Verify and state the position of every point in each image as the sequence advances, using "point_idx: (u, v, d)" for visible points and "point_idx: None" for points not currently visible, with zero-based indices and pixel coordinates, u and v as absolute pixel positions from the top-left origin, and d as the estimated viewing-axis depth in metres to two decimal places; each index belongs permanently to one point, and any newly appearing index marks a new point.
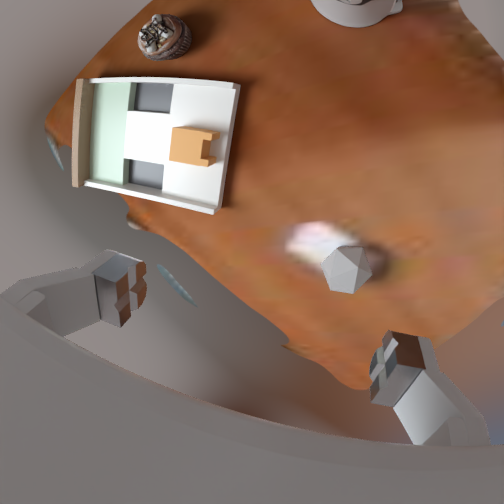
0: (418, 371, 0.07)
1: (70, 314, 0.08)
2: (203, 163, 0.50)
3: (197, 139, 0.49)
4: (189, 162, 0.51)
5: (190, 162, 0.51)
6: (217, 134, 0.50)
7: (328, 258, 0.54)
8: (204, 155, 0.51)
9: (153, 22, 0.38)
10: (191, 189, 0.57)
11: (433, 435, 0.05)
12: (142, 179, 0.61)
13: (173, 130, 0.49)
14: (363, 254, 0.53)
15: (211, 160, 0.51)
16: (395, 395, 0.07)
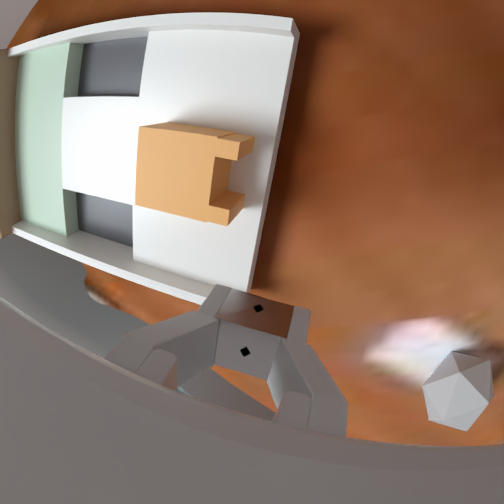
0: (277, 339, 0.07)
1: (186, 365, 0.07)
2: (216, 217, 0.21)
3: (200, 156, 0.19)
4: (182, 212, 0.21)
5: (184, 212, 0.21)
6: (249, 142, 0.21)
7: (441, 383, 0.25)
8: (218, 193, 0.22)
9: None
10: (189, 257, 0.28)
11: (277, 410, 0.06)
12: (99, 226, 0.32)
13: (141, 133, 0.19)
14: (491, 371, 0.23)
15: (235, 207, 0.22)
16: (263, 366, 0.08)
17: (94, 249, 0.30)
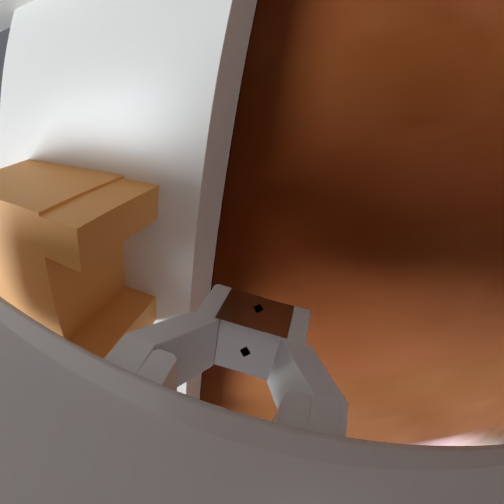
0: (277, 339, 0.07)
1: (186, 365, 0.07)
2: None
3: (26, 252, 0.07)
4: None
5: None
6: (136, 206, 0.09)
7: None
8: (92, 309, 0.10)
9: None
10: None
11: (277, 410, 0.06)
12: None
13: None
14: None
15: None
16: (263, 366, 0.08)
17: None
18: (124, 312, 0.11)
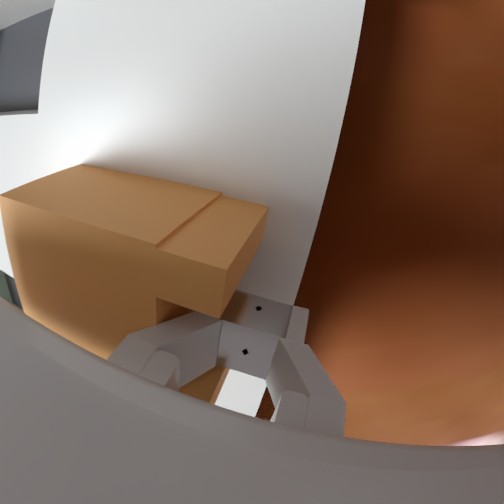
0: (276, 339, 0.07)
1: (189, 366, 0.07)
2: None
3: (120, 289, 0.07)
4: None
5: None
6: (256, 233, 0.08)
7: None
8: None
9: None
10: None
11: (275, 410, 0.06)
12: None
13: (5, 212, 0.07)
14: None
15: (223, 375, 0.09)
16: (261, 365, 0.08)
17: None
18: None
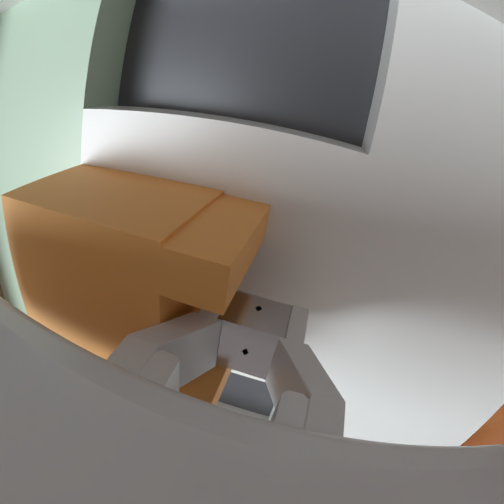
0: (275, 339, 0.07)
1: (189, 366, 0.07)
2: None
3: (123, 287, 0.07)
4: None
5: None
6: (258, 231, 0.08)
7: None
8: None
9: None
10: None
11: (275, 410, 0.06)
12: None
13: (7, 211, 0.07)
14: None
15: (226, 373, 0.09)
16: (261, 365, 0.08)
17: None
18: None
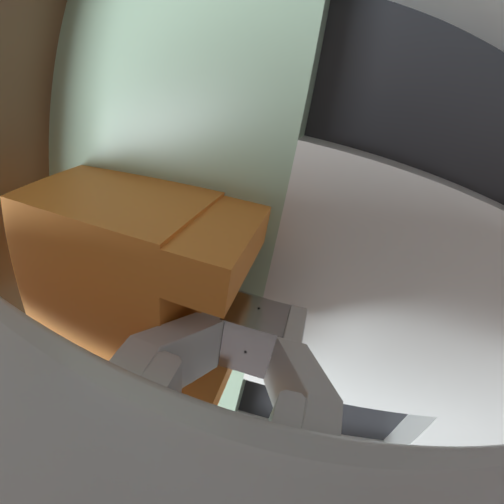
0: (274, 338, 0.08)
1: (191, 366, 0.07)
2: None
3: (123, 290, 0.07)
4: None
5: None
6: (259, 233, 0.08)
7: None
8: None
9: None
10: None
11: (272, 409, 0.06)
12: None
13: (6, 213, 0.07)
14: None
15: (226, 376, 0.09)
16: (259, 365, 0.08)
17: None
18: None
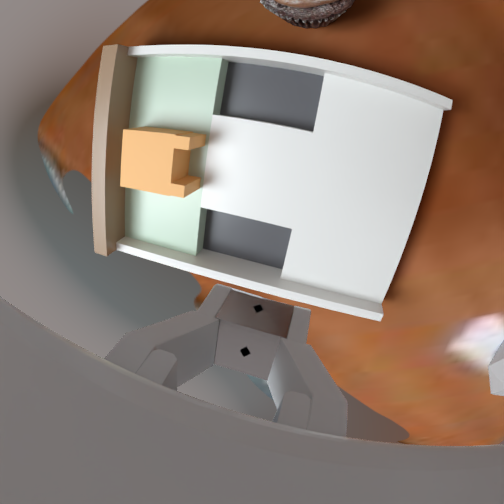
0: (277, 339, 0.07)
1: (186, 365, 0.07)
2: (176, 191, 0.28)
3: (164, 148, 0.27)
4: (152, 189, 0.29)
5: (154, 189, 0.29)
6: (200, 138, 0.28)
7: (502, 362, 0.29)
8: (178, 176, 0.29)
9: None
10: (340, 275, 0.32)
11: (277, 410, 0.06)
12: (233, 245, 0.36)
13: (125, 134, 0.27)
14: None
15: (190, 185, 0.29)
16: (263, 366, 0.08)
17: (235, 268, 0.34)
18: (190, 179, 0.30)
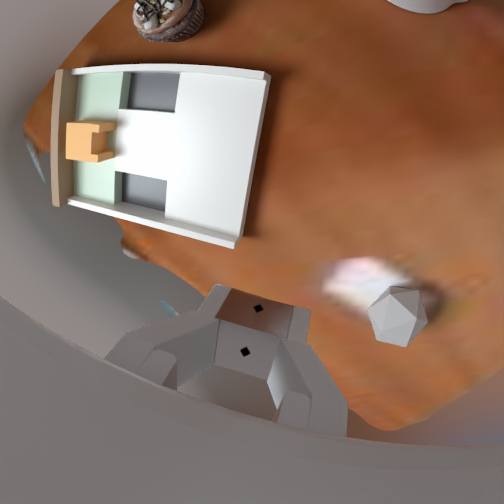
0: (277, 339, 0.07)
1: (186, 365, 0.07)
2: (93, 159, 0.40)
3: (87, 132, 0.39)
4: (82, 159, 0.41)
5: (83, 159, 0.41)
6: (110, 125, 0.40)
7: (378, 304, 0.41)
8: (98, 150, 0.41)
9: None
10: (203, 213, 0.44)
11: (277, 410, 0.06)
12: (139, 197, 0.48)
13: (67, 125, 0.39)
14: (420, 299, 0.40)
15: (104, 155, 0.41)
16: (263, 366, 0.08)
17: (136, 212, 0.46)
18: (105, 151, 0.42)
